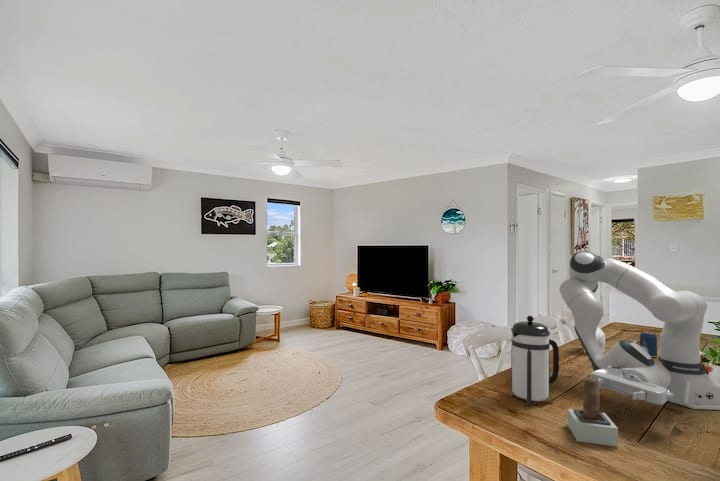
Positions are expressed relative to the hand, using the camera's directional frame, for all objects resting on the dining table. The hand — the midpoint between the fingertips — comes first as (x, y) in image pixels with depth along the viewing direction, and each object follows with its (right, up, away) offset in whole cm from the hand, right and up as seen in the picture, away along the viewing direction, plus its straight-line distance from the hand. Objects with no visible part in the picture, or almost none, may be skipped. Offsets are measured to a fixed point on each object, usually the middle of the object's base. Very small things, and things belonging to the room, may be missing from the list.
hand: (614, 390), depth 114 cm
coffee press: (-16, -11, +21) cm, 28 cm away
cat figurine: (+44, -13, +83) cm, 95 cm away
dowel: (-11, -11, -6) cm, 16 cm away
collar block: (-11, -11, -6) cm, 16 cm away
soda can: (+70, -14, +77) cm, 104 cm away
